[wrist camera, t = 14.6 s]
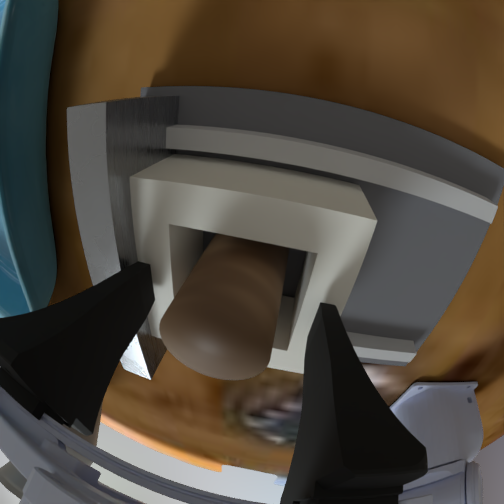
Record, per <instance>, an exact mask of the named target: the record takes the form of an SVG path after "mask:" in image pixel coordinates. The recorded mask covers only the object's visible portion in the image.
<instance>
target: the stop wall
mask: <svg viewBox="0 0 504 504" xmlns="http://www.w3.org/2000/svg"><path fill="white" fill-rule="evenodd" d="M179 100H180V96H146V97H134V98H124V99H116V100H108V101H101V102H95V103H89V104H83V105H78V106H73V107H68V108H67V135H68V151H69V163H70V173H71V182H72V189H73V196H74V203H75V209H76V215H77V220H78V225H79V230H80V235H81V240H82V244H83V249H84V253H85V257H86V261H87V265H88V269H89V272H90V276H91V279H92V283H93V286H94V285H96V284H98V283H100V282H102V281H103V280H105V279H107V278H109V277H110V276H112V275H114V274H116V273H118V272H119V271H121V270H123V269H125V268H126V267H128V266H130V265H132V264H134V263H136V262H138V259H137V252H136V244H135V236H134V228H133V218H132V207H131V194H130V177H131V176H132V175H134V174H136V173H138V172H140V171H142V170H144V169H146V168H148V167H149V166H151V165H153V164H155V163H157V162H159V161H161V160H163V159H166V158H168V157H170V156H172V155H174V154H177V149H169V148H166V128H167V127H170V126H174V125H178V114H179ZM166 350H167V348H166V346H165V344H164V343H163V341H162V339H160V338H157V337H154V336H152V334H151V330H150V325H149V321H148V316H147V318H146V320H145V321H144V323H143V325H142V326H141V328H140V329H139V331H138V332H137V334H136V335H135V337H134V338H133V340H132V342H131V343H130V345H129V346H128V348H127V349H126V351H125V352H124V354H123V356H122V357H121V359H120V361H121V363H122V365H123V368H124V369H125V370H128V371H130V372H132V373H135V374H137V375H140V376H142V377H145V378H148V379H150V380H151V379H152V377H153V375H154V373H155V371H156V369H157V367H158V365H159V363H160V362H161V360H162V358H163V356H164V354H165V352H166Z"/></svg>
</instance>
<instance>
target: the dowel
mask: <svg viewBox="0 0 504 504" xmlns="http://www.w3.org/2000/svg"><path fill="white" fill-rule="evenodd" d="M288 255H289V247H284V246H279V245H274V244H269V243H264V242H259V241H254V240H249V239H244V238H239V237H234V236H229V235H224V234H219V233H216V234H215V236H214V237H213V239H212V240H211V242H210V243H209V245H208V246H207V248H206V249H205V251H204V252H203V254H202V255H201V257H200V258H199V260H198V261H197V263H196V264H195V266H194V267H193V269H192V271H191V272H190V274H189V275H188V277H187V278H186V280H185V281H184V283H183V285H182V286H181V288H180V289H179V291H178V292H177V294H176V296H175V297H174V299H173V300H172V302H171V304H170V305H169V307H168V308H167V310H166V312H165V313H164V315H163V317H162V318H161V321H160V324H159V331H160V336H161V339H162V341H163V343H164V344H165V346H166V348H167V349H168V350H169V351H170V353H171V354H172V355H173V356H174V357H175V358H177V359H178V360H179V361H180V362H182V363H183V364H184V365H186V366H187V367H189V368H191V369H193V370H195V371H197V372H199V373H201V374H204V375H207V376H210V377H213V378H218V379H224V380H243V379H248V378H251V377H254V376H256V375H258V374H260V373H261V372H263V371H264V370H265V369H266V368H267V366H268V364H269V362H270V358H271V353H272V348H273V342H274V337H275V332H276V326H277V321H278V315H279V309H280V303H281V298H282V292H283V286H284V280H285V274H286V267H287V261H288Z"/></svg>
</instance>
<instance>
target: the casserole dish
mask: <svg viewBox="0 0 504 504" xmlns="http://www.w3.org/2000/svg"><path fill="white" fill-rule="evenodd" d="M57 20H58V0H0V318H3V317H10V316H16V315H20V314H25V313H29V312H32V311H36V310H39V309H42V308H45V307H47V306H48V304H49V301H50V299H51V296H52V293H53V290H54V287H55V282H56V276H57V261H56V250H55V242H54V235H53V228H52V221H51V213H50V204H49V195H48V183H47V164H46V118H47V100H48V88H49V78H50V70H51V63H52V57H53V51H54V44H55V38H56V30H57Z"/></svg>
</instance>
